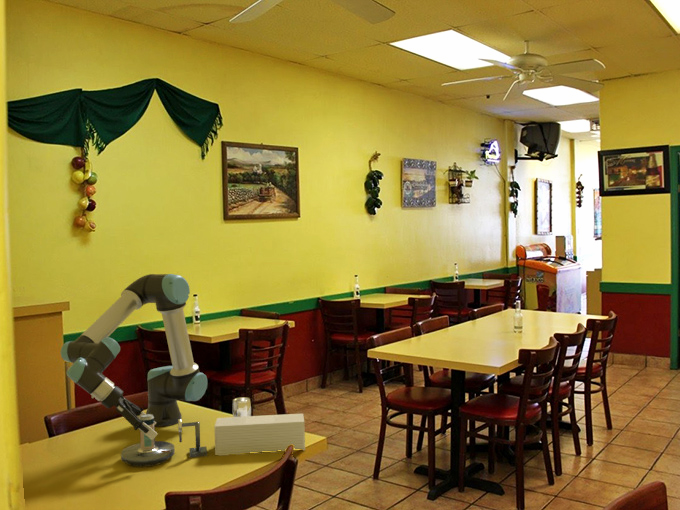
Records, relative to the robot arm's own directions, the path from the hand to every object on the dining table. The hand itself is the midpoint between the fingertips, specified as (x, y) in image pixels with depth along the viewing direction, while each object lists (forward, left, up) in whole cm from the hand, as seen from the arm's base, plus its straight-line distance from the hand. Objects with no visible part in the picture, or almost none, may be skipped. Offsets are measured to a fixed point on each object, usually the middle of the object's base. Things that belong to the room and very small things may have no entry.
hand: (154, 431), depth 223 cm
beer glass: (+18, +29, -10) cm, 36 cm away
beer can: (-2, -2, -6) cm, 7 cm away
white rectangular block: (+31, +21, -10) cm, 39 cm away
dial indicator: (+11, +7, -10) cm, 16 cm away
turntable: (-2, -1, -8) cm, 9 cm away
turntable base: (-2, -2, -10) cm, 10 cm away
